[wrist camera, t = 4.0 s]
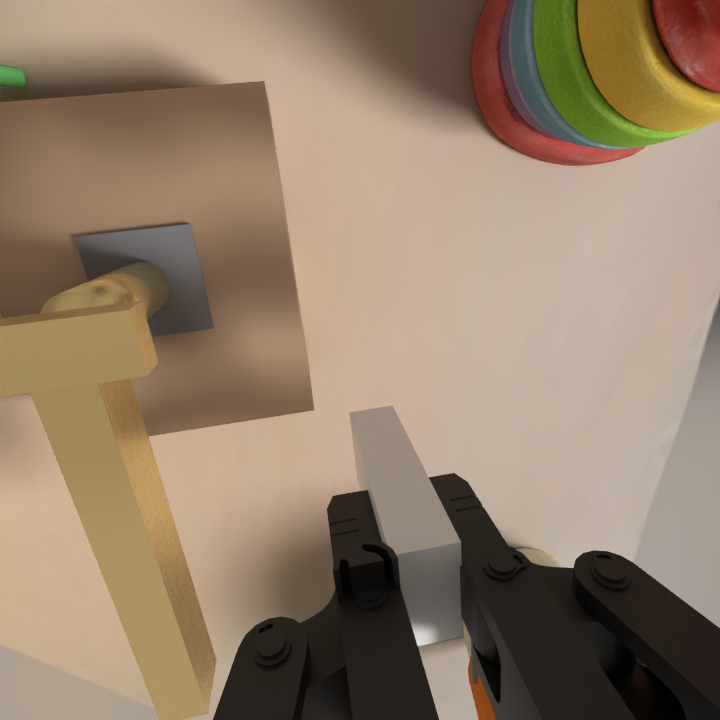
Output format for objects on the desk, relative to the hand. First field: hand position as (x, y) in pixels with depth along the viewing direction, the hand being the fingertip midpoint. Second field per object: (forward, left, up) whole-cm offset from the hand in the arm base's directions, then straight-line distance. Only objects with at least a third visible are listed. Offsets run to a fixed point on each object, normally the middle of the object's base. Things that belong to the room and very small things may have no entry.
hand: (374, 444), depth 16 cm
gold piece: (+1, -8, -6) cm, 10 cm away
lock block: (-6, -8, -11) cm, 15 cm away
